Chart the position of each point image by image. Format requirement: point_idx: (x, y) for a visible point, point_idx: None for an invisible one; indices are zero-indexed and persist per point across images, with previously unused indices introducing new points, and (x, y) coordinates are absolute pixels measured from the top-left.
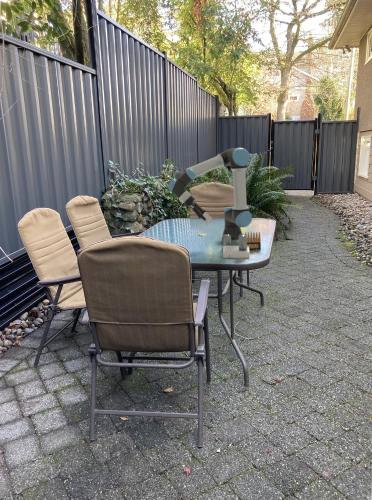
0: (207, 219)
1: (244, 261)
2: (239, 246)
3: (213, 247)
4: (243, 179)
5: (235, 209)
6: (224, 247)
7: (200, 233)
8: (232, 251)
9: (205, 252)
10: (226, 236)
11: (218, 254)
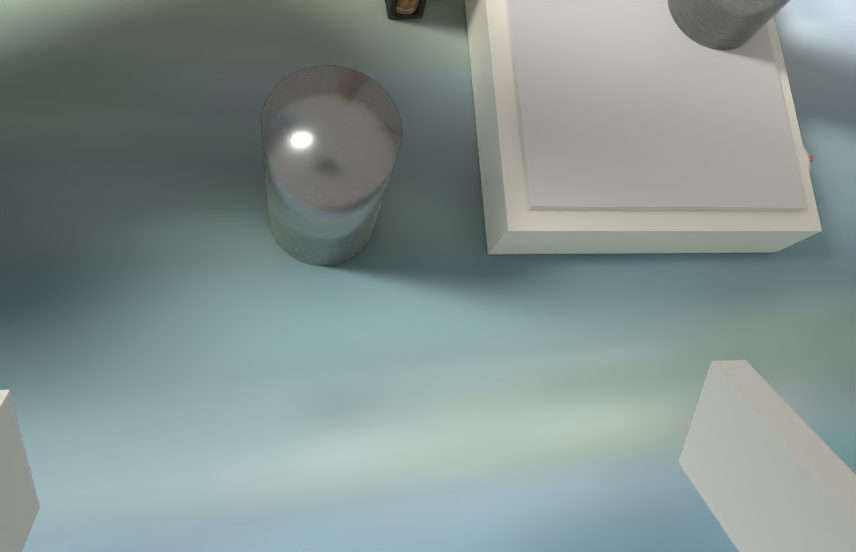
0: (826, 462)
1: (849, 49)
2: (775, 13)
3: (273, 417)
4: None
5: None
6: (590, 219)
7: None
8: (783, 121)
9: (572, 499)
10: (399, 144)
11: (646, 312)
